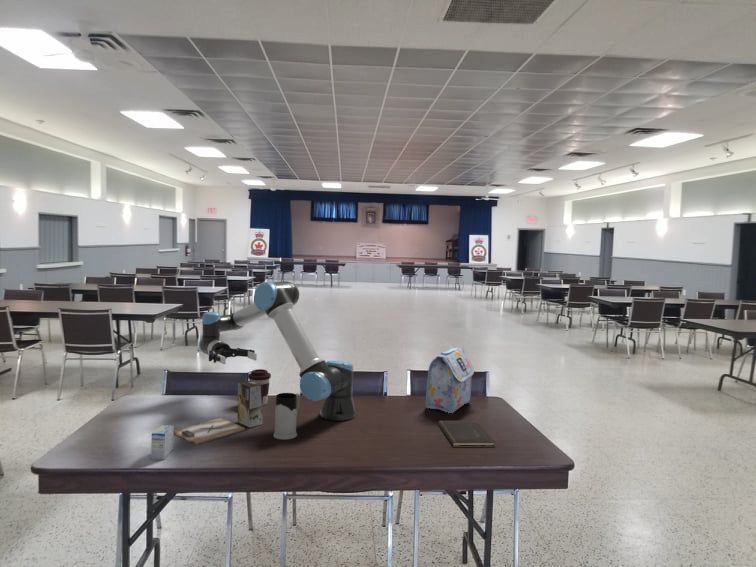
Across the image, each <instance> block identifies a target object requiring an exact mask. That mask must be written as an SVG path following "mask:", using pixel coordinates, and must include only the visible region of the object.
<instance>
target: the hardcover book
mask: <svg viewBox="0 0 756 567" xmlns="http://www.w3.org/2000/svg"><path fill="white" fill-rule="evenodd" d="M438 424H439V425H440V426H439V425H438V426H439V428H440V427H441V428H440V429H441V430H443V431H442V433H443V434H444V433H445V434H444V435H446V436H447V437H446V436H445V437H446V439H447V438H448V439H449V440H448V439H447V440H448V441H450V442H451V443H450V442H449V443H450V445H451V444H452V445H493V444H494V445H495V443H496V441H495V440H494V439H493V437H492V436H491V435H490V434H489V433H488V432H487V431H486V430H485V429H484V427H483V426H481V424H480V423H478V421H477V420H438ZM452 445H451V446H452Z"/></svg>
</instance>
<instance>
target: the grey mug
mask: <svg viewBox="0 0 756 567" xmlns="http://www.w3.org/2000/svg"><path fill="white" fill-rule="evenodd" d="M300 404H301V396H300V394H299V393H292V392H281V393H277V394H276V396H275V407H274V408H275V409H274V410H275V412H274V433H273V434H272V435H273V437H274V439H277V440H291V439H294V438H296V437H297V436H298V433H297V414H298V412H299V409H300Z"/></svg>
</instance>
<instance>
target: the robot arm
mask: <svg viewBox="0 0 756 567" xmlns="http://www.w3.org/2000/svg"><path fill="white" fill-rule="evenodd" d="M299 299H300V290H299V289H298V287H297V285H296V284H294V283H293V282H291V281H272V280H271V281H265V282H264V281H263V282H262V283H260V284H259V285H257V286H256V288H255V290H254V294H253V301H254V302H252V303H251V304H249V305H247V306H245V307H242V308H240V309H238V310H236V311H234V312H233V313H230V314H224V315H221V313H220V312H218V311H211V312H210V311H209V312H207V311H206V312H204V313H203V315H202V322H201V323H202V336H201V339H200V341H199V343H198V348H199V350H200V351H201V352H202V353H203V354H205V355H208V362H212V361H213V363H214V364H216V363H217V362H218V363H221V365H226V360H227V359H228V358H237V357H245V358H246V357H247V359H250V360H253V361H257V359H258V358H257V356H258V355H257V353H256V351H255V350H254V349H246V348H240V347H237V348H232V347H230V345H229V344H228V343H226V342H224V341H221V340H220V337H221V334H220V333H223V332H227V331H228V332H229V331H236V330H240V329H242V328H244V326H245V325H248V324H249V323H252V322H254V321H256V320H259V319H261V318H263V317H265V316H267V317H268V319H272V320H274V323H275V325H276V326H277V328H278V331H280V334H281V335H282V337H283V339H284V341H285V343H286V344H287V347H288V349H289V350H290V352H291V354H292V356H293V358H294V359H295V361H296V363H297V365H298V367H299V368H300V371H299V373H298V375H299V377H300V380H299V383H300V384H299V389H300V391H301V393H302V395H303V396H304V397H305V398H306V399H308V400H309V401H314V402H319V401H321V400H322V401H323V402H322V404H321V405H322V406H321V408H320V410H319V411H320V412H319V413H320V415H319V416H320V417H321V418H323V419H325V420H330V421H335V422H336V421H338V422H341V421H347V420H352V419H353V418H356V416H357V414H356V413H357V409H356V407H355V404H354V399H353V391H354V390H353V389H354V388H353V387H354V385H353V384H354V365H353V363H352V362H350V361H343V360H327V361H326V360H325V359H322V358H320V357H319V355H318V354H317V352H316V350H315V347H314V346H313V344H312V343H311V341H310V338H309V337H308V336H307V333H306V331H305V330H304V328H303V326H302V325H301V322H300V320H299V319H298V317H297V315H296V313H295V312H294V310H293V308H294V306H295V305H296V304H297V303H298V301H299Z"/></svg>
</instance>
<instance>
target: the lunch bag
mask: <svg viewBox="0 0 756 567" xmlns="http://www.w3.org/2000/svg"><path fill="white" fill-rule="evenodd" d="M474 373H475V368H474V366H473V365H472V363H471V361H470V359H469V358H468V355H467V354H466V351H465V349H464V347H454V348H449V349H448V350H447V351H440V354H439V355H436V357H435V358H433V359H432V360H431V362H430V363H429V366H428V371H427V379H426V380H427V381H426V392H425V394H426V396H425V405H426V406H425V407H426V408H427V409H429V408H430V410H431V409H433V410H440V411H443V412H445V413H447V412H448V413H447V414H449V413H452V414H453V413H455V412H456V411H457V410H458V409H460V408H462V407H463V406H465V405H466V404H468V403H470V400H471V395H472V393H471V392H472V378H473V377H472V376H473V375H474ZM464 404H465V405H464Z"/></svg>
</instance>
